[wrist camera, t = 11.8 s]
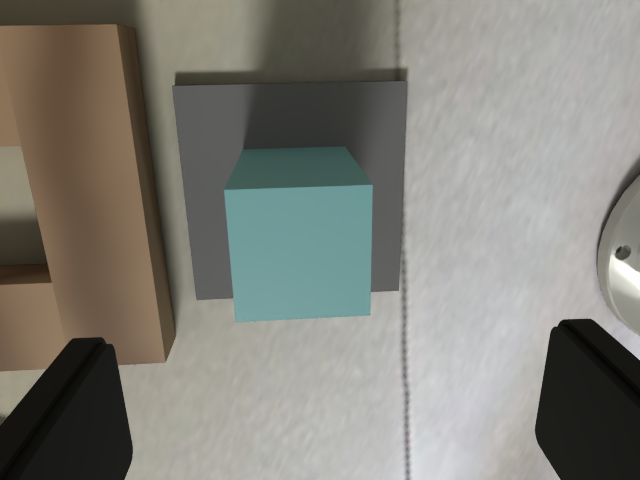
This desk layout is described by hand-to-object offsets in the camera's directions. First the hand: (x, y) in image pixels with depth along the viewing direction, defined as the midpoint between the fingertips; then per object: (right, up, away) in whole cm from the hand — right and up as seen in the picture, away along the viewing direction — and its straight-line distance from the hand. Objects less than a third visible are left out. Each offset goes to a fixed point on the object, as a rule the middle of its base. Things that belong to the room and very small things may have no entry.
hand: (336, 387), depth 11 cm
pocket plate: (-17, +5, +14) cm, 22 cm away
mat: (-2, +6, +15) cm, 16 cm away
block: (-2, +5, +14) cm, 15 cm away
